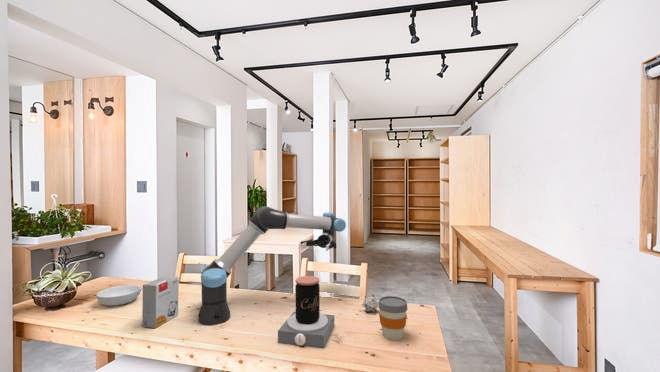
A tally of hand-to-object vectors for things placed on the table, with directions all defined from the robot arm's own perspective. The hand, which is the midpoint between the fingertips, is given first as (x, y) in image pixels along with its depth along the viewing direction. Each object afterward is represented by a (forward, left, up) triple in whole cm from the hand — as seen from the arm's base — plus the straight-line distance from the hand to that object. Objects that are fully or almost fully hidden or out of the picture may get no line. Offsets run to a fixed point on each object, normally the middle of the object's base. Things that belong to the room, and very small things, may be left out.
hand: (314, 247), depth 162 cm
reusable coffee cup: (+41, -18, -33) cm, 56 cm away
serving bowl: (-111, -13, -34) cm, 117 cm away
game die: (+29, +5, -34) cm, 45 cm away
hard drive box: (-70, -28, -34) cm, 82 cm away
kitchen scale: (+4, -25, -33) cm, 42 cm away
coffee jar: (+4, -25, -27) cm, 37 cm away
